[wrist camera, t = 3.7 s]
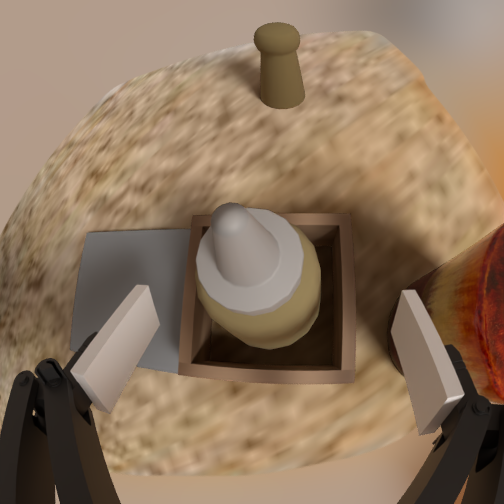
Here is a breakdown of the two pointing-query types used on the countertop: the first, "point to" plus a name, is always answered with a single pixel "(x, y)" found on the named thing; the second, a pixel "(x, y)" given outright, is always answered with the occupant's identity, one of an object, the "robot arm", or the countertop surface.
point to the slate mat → (126, 278)
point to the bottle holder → (341, 371)
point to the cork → (279, 65)
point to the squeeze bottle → (258, 276)
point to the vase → (468, 311)
